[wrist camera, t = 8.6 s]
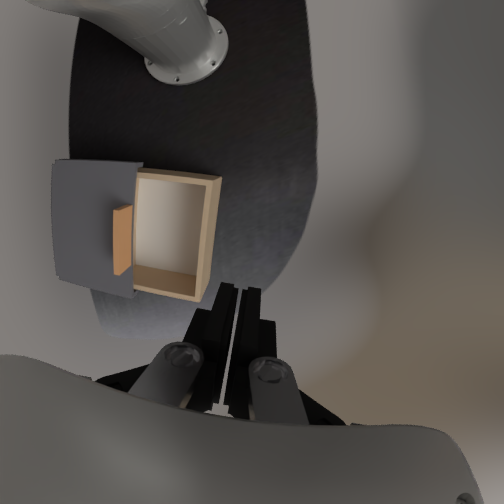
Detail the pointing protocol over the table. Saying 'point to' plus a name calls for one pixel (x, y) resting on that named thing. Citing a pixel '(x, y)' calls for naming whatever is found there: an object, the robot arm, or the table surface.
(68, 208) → the lid
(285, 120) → the table surface
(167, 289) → the box
